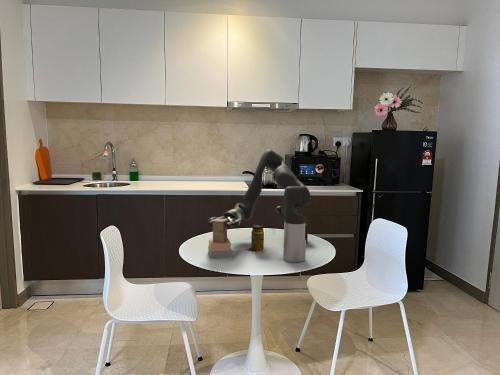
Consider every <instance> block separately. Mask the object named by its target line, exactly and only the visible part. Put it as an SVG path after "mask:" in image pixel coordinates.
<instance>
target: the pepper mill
mask: <svg viewBox="0 0 500 375" xmlns="http://www.w3.org/2000/svg"><path fill="white" fill-rule="evenodd" d="M283 209H284V208H283V206H282V205H278V206H276V208H275V211H276V212H277V215H278V216H280V217H283V218H284V215H283V214H284V212H283V211H284V210H283ZM294 211H295V212H296V213H298V212H299V211H298V209H296V210H294ZM308 235H309V225H308V224H307V223H305V240H306V244H307V243H308V237H309V236H308Z"/></svg>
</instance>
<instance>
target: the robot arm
mask: <svg viewBox="0 0 500 375" xmlns="http://www.w3.org/2000/svg"><path fill="white" fill-rule="evenodd" d="M266 168H267V169H269V170H270V171H272V172H273V178H274V180H275V182H276V184H277V185H278V186H279V187H280V188H281V189H283V190H284V191H283V192H284V193H283V200H284V201H283V207H284V208H283V209H284V210H283V211H284V212H283V214H284V217H283V218H284V225H283V227H284V228H283V229H284V230H283V255H282V256H283V260H284V261H286V262H289V263H301V262H305V261H306V253H307V252H306V250H307V243H306V240H305V224H306V216H305V215H304V214H302V213H298V212H297V213H296V212H295V211H296V210H295V209H294V208H305V207H307V206H309V204H310V203H311V200H312V198H311V197H312V196H311V192H310V190H309V188H308V187H307V186H306V185H305V184H304V183H303V182H301V181H300V180H299V179H298V178H297V176H296V175H295V174H294V172H293V171H292V170H291V168H290V167H289V166H288V165H287V164H286V161H285V160H284V158H283V157H282V156H281V155H280V154H279V153H276V152H275V151H273V150H272V149H269V148H268V149H267V150H265V151H264V152H263V153H262V155H261V157H260V159H259V161H258V165H257V167H256V170H255V172H254V175H253V177H252V180H251V182H250V185H249V187H248V188H247V190H246V191H245V193H244V196H243V199H244V200H245V201H246V203H248V206H247V205H246V204H244V203H241V202H238V203H236V204H235V206H234V207H233V209H229V210H227V211H225V212H223V213H222V215H221V216H220V217H216V216H213V217H210V218H209V219H208V226H209V227H213V220H215V219H227V224H226V228H227V229H229V228H233V227H234V228H237V227H239V226H240V225H241V222H242V220H243V221H250V220H251V218H252V217H253V214H254V209H255V205H256V203H257V200H258V199H259V196H260V195H261V193H262V190H263V176H264V170H265V169H266Z"/></svg>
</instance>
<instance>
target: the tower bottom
mask: <svg viewBox="0 0 500 375" xmlns="http://www.w3.org/2000/svg"><path fill="white" fill-rule="evenodd" d="M207 250H208V255H209V258H210V259H223V258H224V259H225V258H233V249H232V248H231V251H216V252H211V250H210V247H209V245H208V248H207Z"/></svg>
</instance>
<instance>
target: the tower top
mask: <svg viewBox="0 0 500 375" xmlns="http://www.w3.org/2000/svg"><path fill="white" fill-rule="evenodd" d="M208 246H209V247H210V250H211V252H216V251H231V249H232V243H231V241H230V239H229V238H228V237H227V241H226V242H224V243H215V242H213V238H209V239H208Z"/></svg>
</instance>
